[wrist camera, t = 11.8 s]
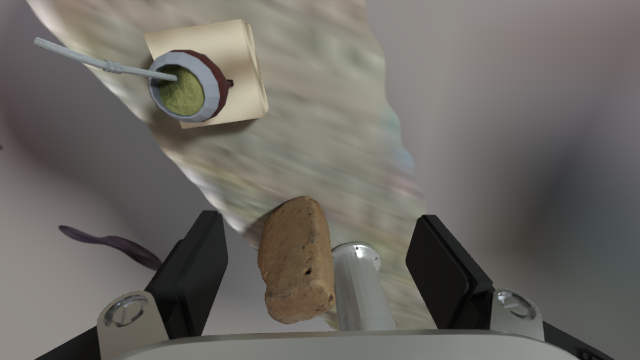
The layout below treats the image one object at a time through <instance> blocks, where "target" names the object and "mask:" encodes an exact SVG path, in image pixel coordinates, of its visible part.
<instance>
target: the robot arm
mask: <svg viewBox="0 0 640 360" xmlns="http://www.w3.org/2000/svg"><path fill="white" fill-rule="evenodd" d="M331 252H332V258H333V269H334V292H335V298H336V300H335V302H336V309H337V316H338V324H339V331H331V332H330V331H328V332H291V333H255V334H230V335H211V336H210V335H208V336H201V334H202V332H203V329H204V326H205V324H206V321H207V318H208V316H209V313H210V310H211V308H212V305H213V302H214V300H215V297H216V294H217V292H218V289H219V286H220V283H221V281H222V278H223V275H224V273H225V270H226V267H227V264H228V253H227V246H226V239H225V233H224V225H223V219H222V214H218V212H217V211H211V210H204V211H202V213H201V214H200V215H199V217H198V218H197V220H196V221H195V223H194V224H193V226H192V227H191V229H190V230H189V232H188V234H187V235H186V236H185V238H184V239H181V240H179V241H178V242H177V243H176V245H175V246H174V248H173V250H172V251H171V252H170V254H169V255H168V256H167V258H166V259H165V261H164V262H163V264H162V265H161V267H160V268H159V269H158V271H157V272H156V274H155V275H154V277H153V278H152V280H151V281H150V282H149V284H148V286H147V287H146V288H145V290H144V291H135V292H130V293H128V294H125V295H122V296H121V297H119V298H117V299H115V300H114V301H113V302H111V303H110V304H109V305H107V306H106V307H105V309H104V310H103V311H102V312H101V313H100V316H99V317H98V319H97V326H95V327H93V328H91V329H89V330H88V331H86V332H84V333H82V334H80V335H78V336H77V337H75V338H73V339H71V340H70V341H68V342H66V343H64V344H62V345H61V346H58V347H57V348H55V349H53V350H51V351H50V352H48V353H46V354H44V355H42V356H40V357H38V358H37V359H35V360H614V359H613V358H611V357H609V356H608V355H606V354H604V353H603V352H601V351H599V350H597V349H595V348H593V347H591V346H590V345H587V344H586V343H584V342H582V341H580V340H578V339H576V338H574V337H573V336H571V335H569V334H567V333H565V332H563V331H561V330H559V329H557V328H556V327H554V326H552V325H550V324H548V323H546V322H544V321H542V316H541V314H540V311H539V310H538V308H537V307H536V306H535V305H534V304H533V303H532V302H531V301H530V300H529V299H528V298H526V297H525V296H523V295H522V294H520V293H518V292H516V291H513V290H510V289H506V288H498V289H496V290H495V289H494V287H493V286H492V284H493V282H492V281H491V279H490V278H489V277H488V276H487V275H486V274H485V272H484V271H483V270H482V269H481V268H480V266H479V265H478V264H477V263H476V262H475V261H474V260H473V258H472V257H471V256H470V255H469V254H468V252H467V251H466V250H465V249H464V248H463V247H462V245H461V244H460V243H459V242H458V241H457V239H456V238H455V237H454V236H453V235H452V234H451V233H450V231H449V230H448V229H447V228H446V227H445V225H444V224H443V223H442V222H441V221H440V219H439V218H438V217H437V216H436V215H422V216H421V218H418V220H417V223H416V226H415V229H414V233H413V236H412V239H411V242H410V246H409V249H408V252H407V256H406V266H407V268H408V270H409V272H410V274H411V276H412V278H413V280H414V282H415V284H416V286H417V288H418V290H419V292H420V294H421V296H422V298H423V300H424V302H425V304H426V306H427V308H428V310H429V312H430V314H431V316H432V318H433V320H434V322H435V324H436V326H437V328H438V329H429V330H397V329H396V326H395V323H394V320H393V317H392V314H391V311H390V308H389V305H388V303H387V300H386V297H385V294H384V291H383V288H382V285H381V282H380V279H379V276H378V273H377V272H378V271H379V268H380V264H381V263H380V258H379V255H378V253H377V251H376V250H375V249H374V248H372V247H371V246H369V245H366V244H363V243H348V244H344V245H341V246H339V247H337V248H335V249H334V250H332V251H331Z"/></svg>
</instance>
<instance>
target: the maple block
mask: <svg viewBox="0 0 640 360" xmlns="http://www.w3.org/2000/svg"><path fill="white" fill-rule="evenodd" d="M143 35H144V38H145V40H146V42H147V45H148V47H149V50H150V52H151V55H152V57H153V59H154V61H155V59H156V58H157V57H159V56H161V55H163V54H165V53H167V52H169V51H171V50H193V51H196V52H198V53H200V54H205V55H206V56H207V57H208V58H209V59H210V60H211V61H213V62H214V63H215V64H216V65H217V66H218V67H219V68H220V70H221V71H222V73H223V75H224V76H225V78H226V79H231V80H233V82H234V86H232V87H229V91H228V96H227V100H226V104H225V106H224V107H223V109H222V110H221V111H220V112H219V114H218V115H217V116H216V117H213V118H211V119H209V120H207V121H204V122H199V123H185V122H182V121H179V122H180V125H181V127H182V129H186V128H193V127H200V126H207V125H214V124H221V123H228V122H234V121H241V120H248V119H255V118H262V117H264V116H265V114H266V112H267V111H268V109H269V107H268V103H267V98H266V94H265V90H264V85H263V81H262V76H261V72H260V67H259V63H258V59H257V54H256V50H255V45H254V41H253V36H252V32H251V28H250V24H248V23H246V22H244V21H242V20H240V19H238V20H232V21H225V22H218V23H211V24H204V25H197V26H191V27H184V28H177V29H170V30H163V31H156V32H150V33H143Z"/></svg>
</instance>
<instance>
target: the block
mask: <svg viewBox="0 0 640 360" xmlns="http://www.w3.org/2000/svg"><path fill="white" fill-rule="evenodd" d="M257 262H258V267H259V268H260V271H261V275H262V278H263V280H264V282H265V283H266V285H267V289H266V292H265V302H266V306H267V308H268V313H269V315H270V316H271V317H272V318H273V319H274V320H277V321H279V322H280V323H283V324H291V323H296V322H298V321H299V320H309V319H312V318H314V317H316V316H319V315H321V314H323V313H325V312H327V311H329V310H330V309H332V308H333V307H334V305H335V300H336V298H335V292H334V269H333V258H332V252H331V241H330V233H329V227H328V223H327V220H326V218H325V215H324V213H323V211H322V208H321V206H320V205H319V203H318V202H317V201H314V200H313V199H311V198H310V197H308V196H300V197H297V198H294V199H292V200H289V201H288V202H286V203H284V204H283V205H282V207H279V208H277V209H276V210H275V211H274V212H273V213H272V214H271V215H270V217H269V218H268V219H267V221H266V223H265V226H264V229H263V233H262V237H261V242H260V246H259V252H258V261H257Z"/></svg>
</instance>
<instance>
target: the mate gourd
mask: <svg viewBox="0 0 640 360" xmlns="http://www.w3.org/2000/svg"><path fill="white" fill-rule="evenodd" d="M35 45H36V46H39V47H42V48H44V49H47V50H50V51H52V52H55V53H58V54H60V55H63V56H66V57H69V58H71V59H74V60H77V61H79V62H82V63H85V64H88V65H92V66H95V67H98V68H101V69H103V70H104V71H106V72H111V73H116V74H121V73H127V74H133V75H140V76H146V77H148V82H147V84H148V87H149V91H150V94H151V97H152V98H153V100H154V101H155V103H156V104H157V105H158V107H159V108H160V109H161V110H162V111H164V112H165V113H166V114H168V115H169V116H170V117H172V118H174V119H176V120H179V121H182V122H185V123H199V122H204V121H207V120H209V119H211V118H213V117H216V116H217V115H218V114H219V112H220V111H221V110H222V109H223V107H224V106H225V104H226V100H227V96H228V91H229V87H232V86H234V82H233V80H231V79H226V78H225V76H224V75H223V73H222V71H221V70H220V68H219V67H218V66H217V65H216V64H215V63H214V62H213V61H211V60H210V59H209V58H208V57H207V56H206V55H205V54H200V53H198V52H196V51H193V50H171V51H169V52H167V53H165V54H163V55H161V56H159V57H157V58H156V59H155V61H154V62H153V64H152V65H151V67H150V68H149V70H145V69H139V68H134V67H129V66H123V65H121V64H120V63H116V62H112V61H108V60H104V61H101V60H97V59H94V58H92V57H89V56H86V55H83V54H80V53H78V52H75V51H72V50H70V49H67V48H65V47H62V46H59V45H57V44H54V43H52V42H49V41H46V40H44V39H41V38H39V37H37V38H36V39H35Z"/></svg>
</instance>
